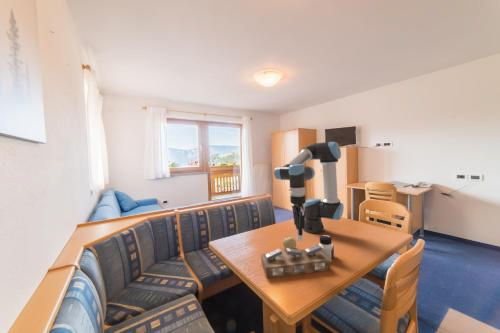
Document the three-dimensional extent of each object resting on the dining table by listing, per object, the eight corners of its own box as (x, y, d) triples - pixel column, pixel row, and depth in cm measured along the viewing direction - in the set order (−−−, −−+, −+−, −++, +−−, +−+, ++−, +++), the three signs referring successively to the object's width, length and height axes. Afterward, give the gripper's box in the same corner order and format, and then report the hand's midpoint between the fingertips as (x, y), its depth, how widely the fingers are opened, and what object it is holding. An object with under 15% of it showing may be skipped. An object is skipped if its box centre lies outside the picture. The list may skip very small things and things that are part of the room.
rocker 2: (299, 252, 103) (300, 249, 103) (302, 255, 99) (302, 252, 99) (285, 251, 102) (285, 248, 102) (287, 254, 98) (287, 250, 98)
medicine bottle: (331, 262, 103) (331, 240, 103) (317, 259, 107) (317, 237, 107) (334, 256, 109) (333, 235, 109) (320, 253, 113) (320, 233, 113)
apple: (292, 253, 114) (284, 241, 115) (285, 253, 121) (278, 241, 122) (301, 245, 118) (293, 233, 119) (293, 245, 125) (287, 235, 126)
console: (318, 256, 109) (317, 245, 109) (330, 270, 96) (330, 257, 96) (261, 263, 105) (260, 251, 105) (266, 278, 92) (266, 264, 92)
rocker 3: (319, 247, 104) (318, 244, 104) (322, 249, 101) (321, 246, 101) (305, 252, 103) (304, 249, 103) (308, 255, 100) (307, 252, 100)
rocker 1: (280, 250, 101) (279, 247, 101) (282, 253, 98) (281, 250, 98) (266, 257, 100) (265, 254, 100) (268, 260, 97) (266, 257, 97)
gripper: (286, 193, 105) (288, 235, 107) (295, 198, 92) (297, 247, 94) (299, 192, 106) (301, 234, 108) (310, 197, 93) (312, 245, 95)
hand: (299, 240), depth 101 cm, fingers closed
